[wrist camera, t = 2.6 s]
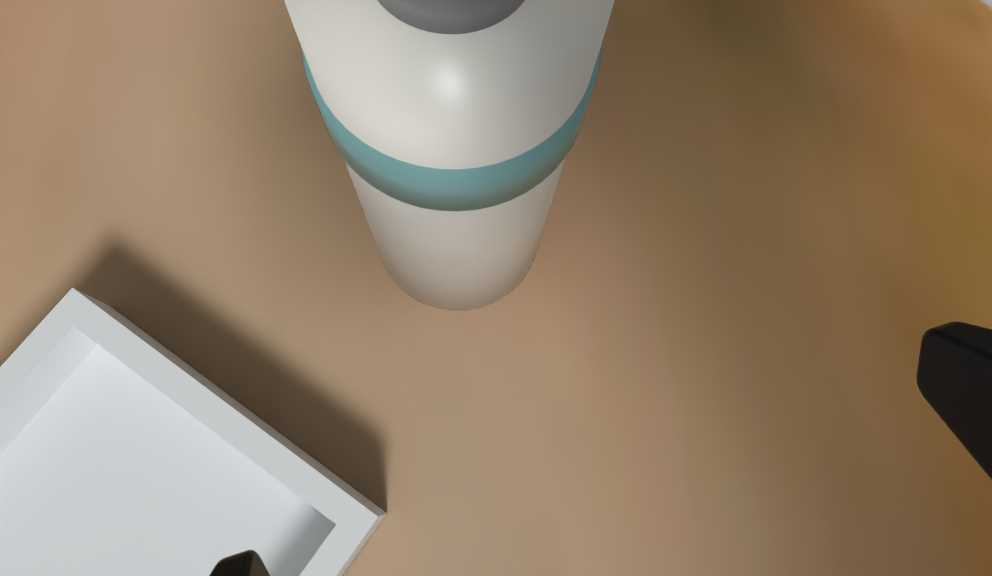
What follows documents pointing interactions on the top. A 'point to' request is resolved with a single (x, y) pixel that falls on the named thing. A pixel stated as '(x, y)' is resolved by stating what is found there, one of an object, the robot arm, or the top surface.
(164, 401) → the tray
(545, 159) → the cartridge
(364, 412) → the top surface
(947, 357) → the robot arm
